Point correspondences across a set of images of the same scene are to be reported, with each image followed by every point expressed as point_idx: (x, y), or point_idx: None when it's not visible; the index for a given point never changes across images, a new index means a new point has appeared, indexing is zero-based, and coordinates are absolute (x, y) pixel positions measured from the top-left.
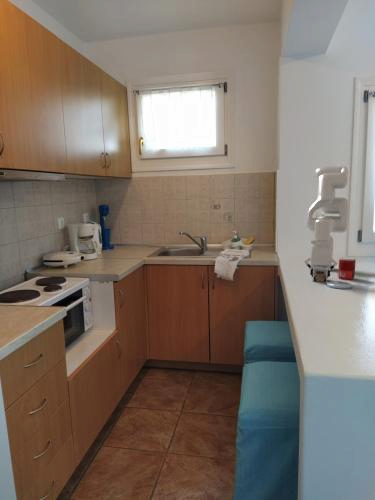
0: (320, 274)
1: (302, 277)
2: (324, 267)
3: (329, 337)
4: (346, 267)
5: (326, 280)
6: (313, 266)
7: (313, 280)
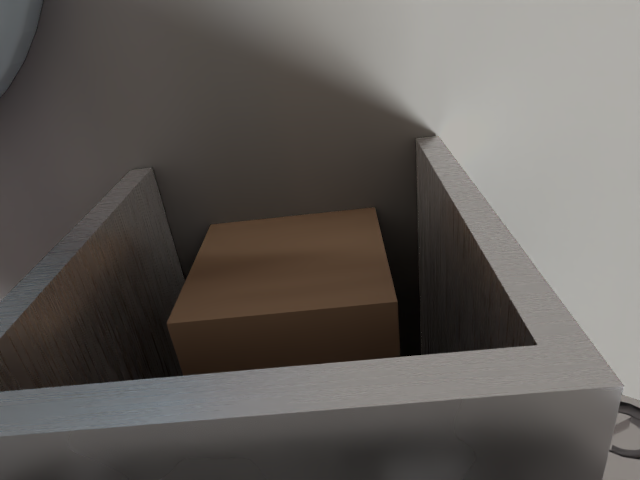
0: (271, 303)
1: (626, 375)
2: (25, 451)
3: None
4: None
5: (130, 185)
6: (592, 477)
7: (423, 145)
